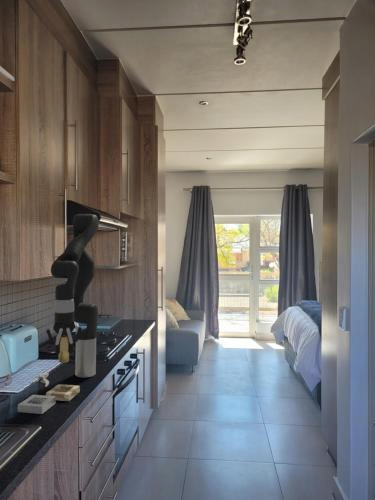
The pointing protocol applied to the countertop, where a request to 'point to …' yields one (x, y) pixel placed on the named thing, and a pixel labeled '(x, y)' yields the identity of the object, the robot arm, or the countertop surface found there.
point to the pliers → (43, 379)
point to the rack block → (64, 392)
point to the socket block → (37, 404)
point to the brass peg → (64, 349)
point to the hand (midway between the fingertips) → (64, 352)
